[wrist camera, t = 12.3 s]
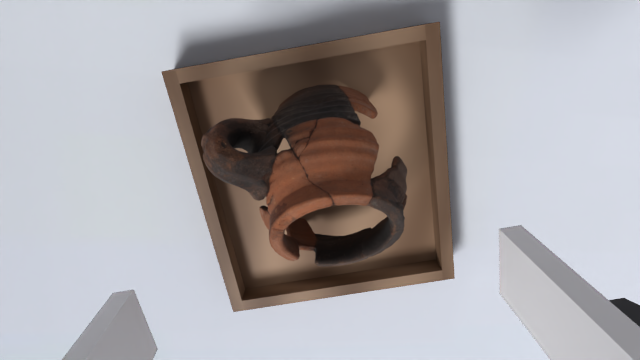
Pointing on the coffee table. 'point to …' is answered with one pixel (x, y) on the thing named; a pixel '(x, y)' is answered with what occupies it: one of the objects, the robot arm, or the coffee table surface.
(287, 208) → the pottery mug
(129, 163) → the coffee table surface
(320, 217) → the walnut tray
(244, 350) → the coffee table surface
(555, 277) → the robot arm
